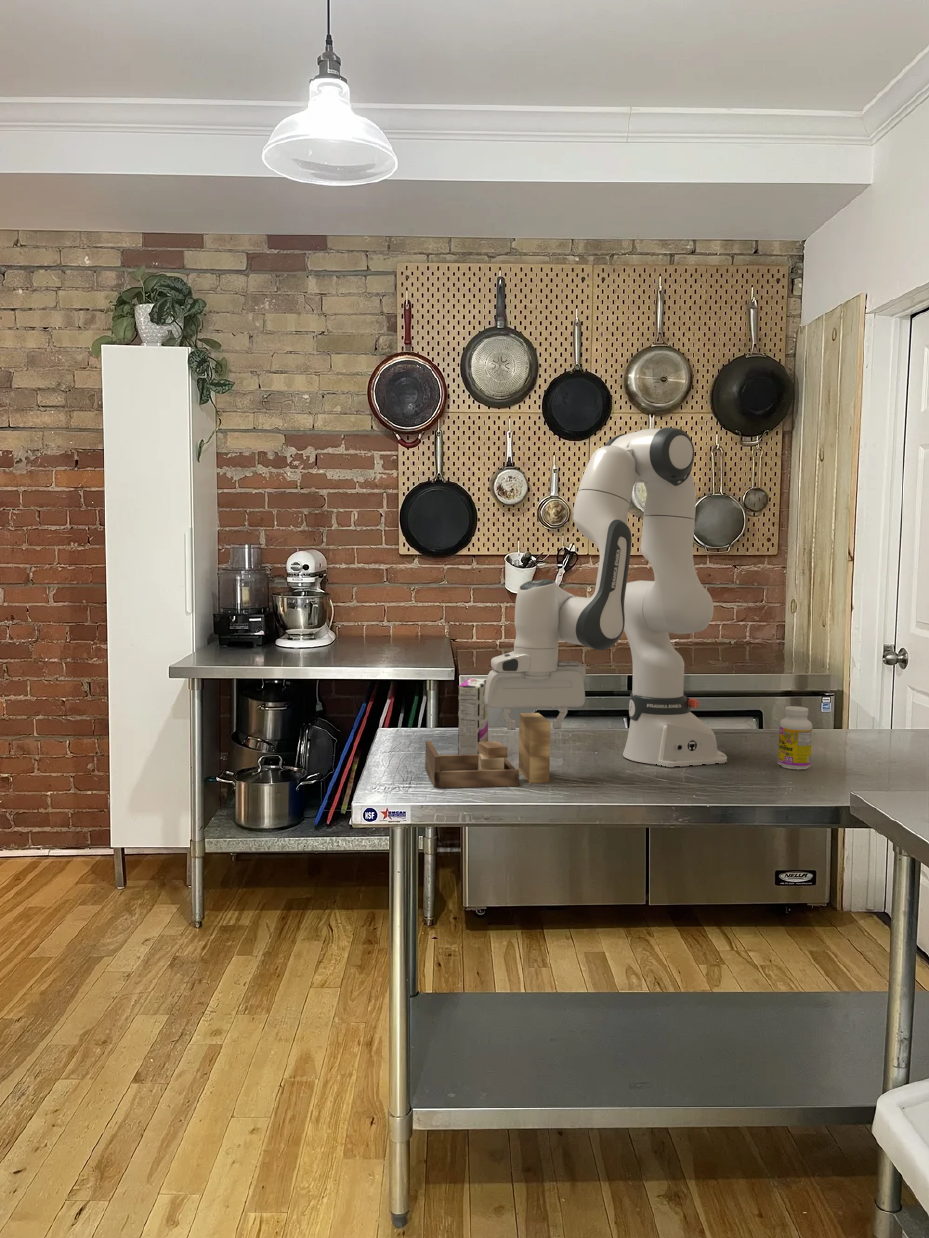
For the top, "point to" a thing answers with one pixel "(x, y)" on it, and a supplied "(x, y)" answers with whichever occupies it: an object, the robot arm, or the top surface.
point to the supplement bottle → (795, 738)
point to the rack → (466, 771)
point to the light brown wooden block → (534, 747)
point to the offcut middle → (491, 763)
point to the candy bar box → (472, 716)
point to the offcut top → (492, 749)
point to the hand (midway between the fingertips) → (534, 729)
